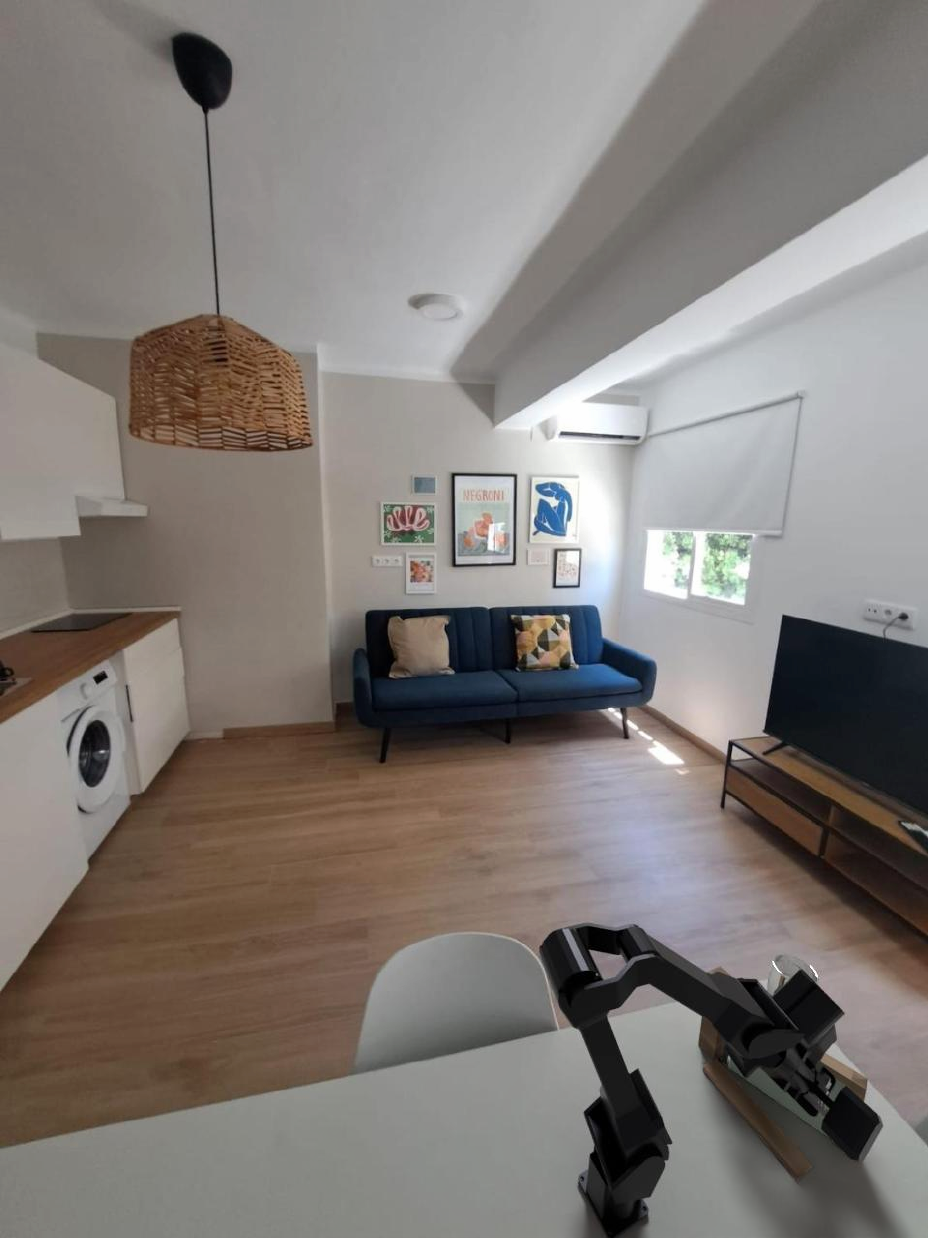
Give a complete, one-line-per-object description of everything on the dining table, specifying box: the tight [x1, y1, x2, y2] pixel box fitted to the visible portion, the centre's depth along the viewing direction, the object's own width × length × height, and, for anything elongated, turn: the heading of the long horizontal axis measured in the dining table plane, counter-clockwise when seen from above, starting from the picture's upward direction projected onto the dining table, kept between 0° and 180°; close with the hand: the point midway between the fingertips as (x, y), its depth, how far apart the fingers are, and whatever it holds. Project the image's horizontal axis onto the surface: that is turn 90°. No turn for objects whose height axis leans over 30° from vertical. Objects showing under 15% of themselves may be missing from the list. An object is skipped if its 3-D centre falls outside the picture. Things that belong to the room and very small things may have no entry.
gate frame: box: [697, 966, 813, 1181], centre depth 74 cm, size 6×18×14 cm, turn 24°
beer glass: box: [766, 952, 820, 996], centre depth 82 cm, size 7×7×15 cm
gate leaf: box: [728, 1052, 869, 1139], centre depth 74 cm, size 16×2×11 cm, turn 46°
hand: (811, 1084), depth 71 cm, fingers closed
